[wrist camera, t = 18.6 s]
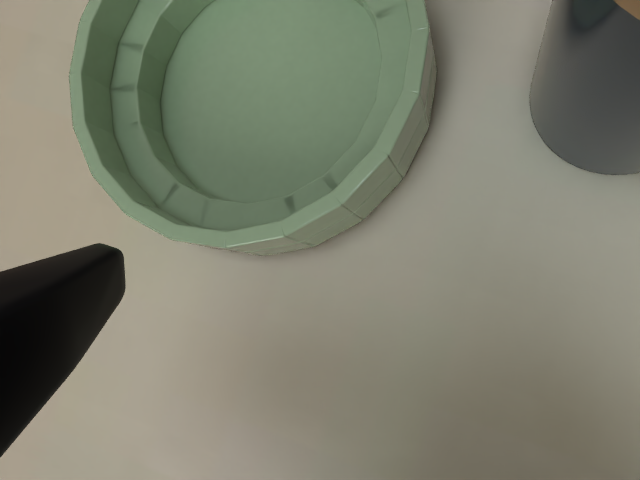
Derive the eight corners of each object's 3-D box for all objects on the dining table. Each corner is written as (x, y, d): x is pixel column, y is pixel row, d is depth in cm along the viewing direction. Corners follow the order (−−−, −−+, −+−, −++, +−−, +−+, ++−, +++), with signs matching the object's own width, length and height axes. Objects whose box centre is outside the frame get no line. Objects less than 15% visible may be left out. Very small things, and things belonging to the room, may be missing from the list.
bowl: (497, -3, 21) (502, -73, 17) (339, 314, 22) (308, 317, 18) (215, -92, 25) (166, -165, 21) (87, 175, 26) (15, 152, 22)
